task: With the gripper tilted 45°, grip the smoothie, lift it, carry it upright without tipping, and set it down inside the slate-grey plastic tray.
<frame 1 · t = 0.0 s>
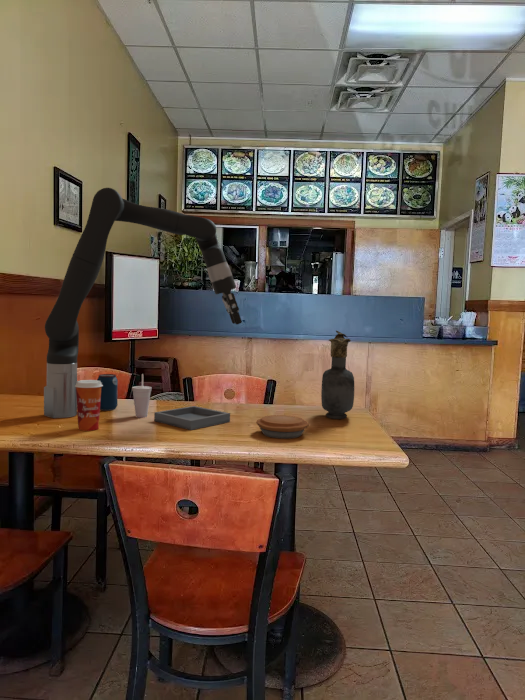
hand: (237, 323, 178), 31 cm above the table, tool tilted 20°, fingers open, 8 cm apart
soda can: (107, 409, 183), on the table
paper cup: (88, 429, 153), on the table
pie: (281, 435, 154), on the table
smoothie: (141, 416, 173), on the table
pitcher: (335, 416, 184), on the table
tray: (192, 421, 167), on the table
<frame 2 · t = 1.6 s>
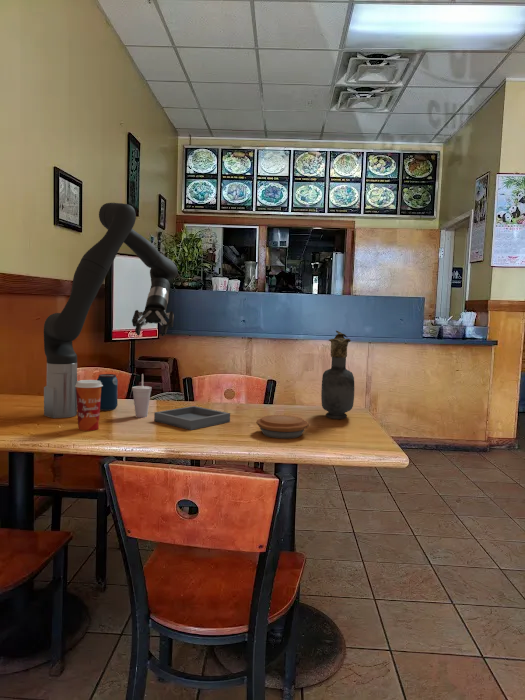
hand: (150, 334, 182), 27 cm above the table, tool tilted 45°, fingers open, 8 cm apart
nothing on the table moved.
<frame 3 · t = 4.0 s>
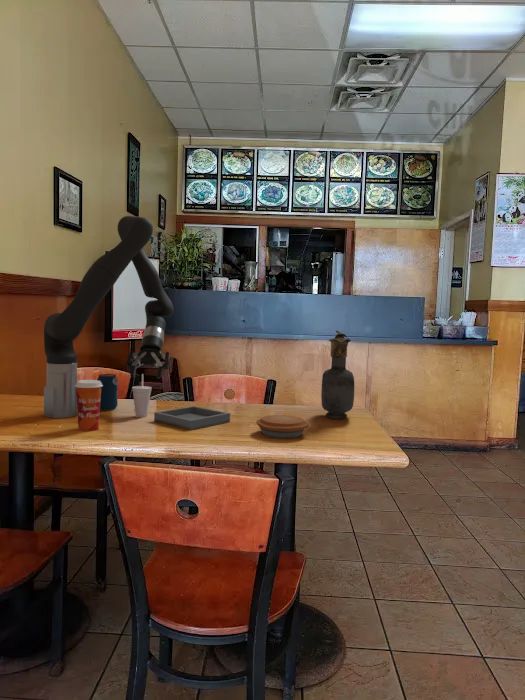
hand: (145, 377, 177), 12 cm above the table, tool tilted 45°, fingers open, 8 cm apart
nothing on the table moved.
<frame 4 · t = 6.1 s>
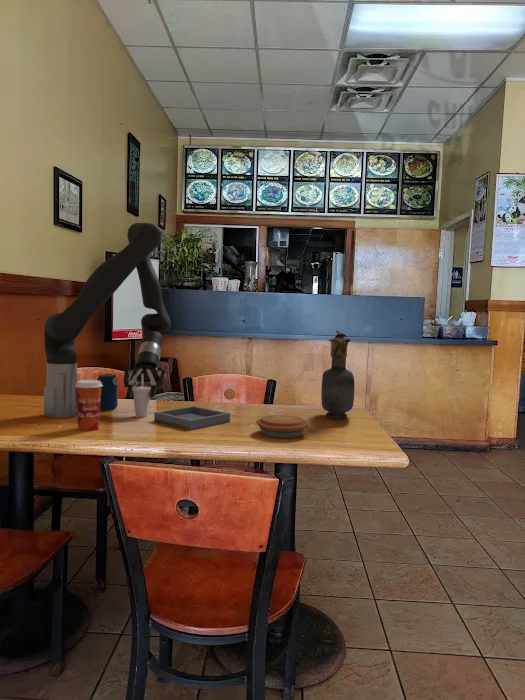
hand: (140, 396, 170), 7 cm above the table, tool tilted 45°, fingers closed on smoothie, 6 cm apart
smoothie: (141, 416, 173), on the table, touching gripper
everything else where it was.
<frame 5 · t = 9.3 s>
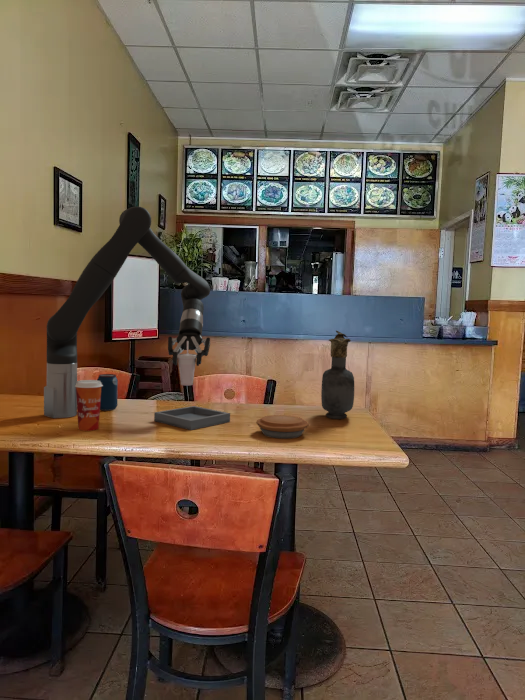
hand: (186, 363, 165), 18 cm above the table, tool tilted 45°, fingers closed on smoothie, 6 cm apart
smoothie: (186, 385, 168), point 11 cm above the table, touching gripper
everything else where it was.
when the fingers open (9 cm above the table, at t = 12.4 s): smoothie drops 1 cm, resting on tray.
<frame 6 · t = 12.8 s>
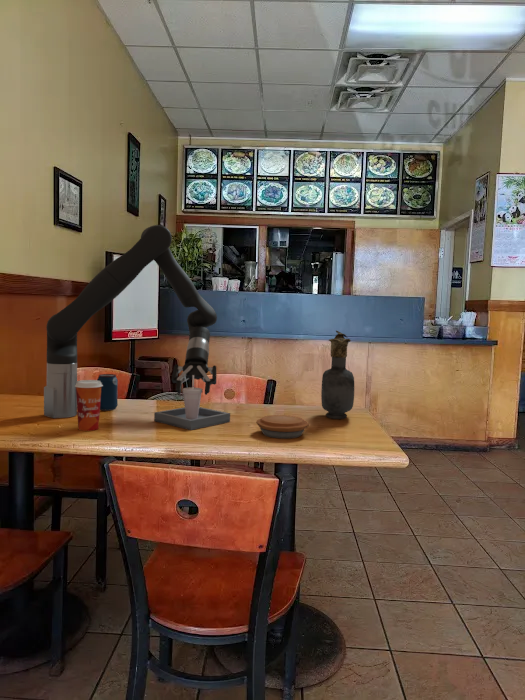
hand: (192, 392, 165), 9 cm above the table, tool tilted 45°, fingers open, 8 cm apart
smoothie: (191, 419, 167), point 1 cm above the table, touching tray
everything else where it was.
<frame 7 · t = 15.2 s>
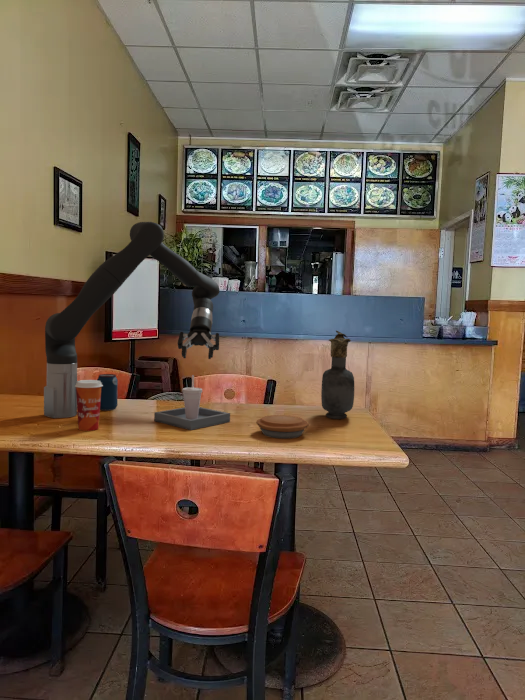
hand: (196, 357, 177), 20 cm above the table, tool tilted 45°, fingers open, 8 cm apart
nothing on the table moved.
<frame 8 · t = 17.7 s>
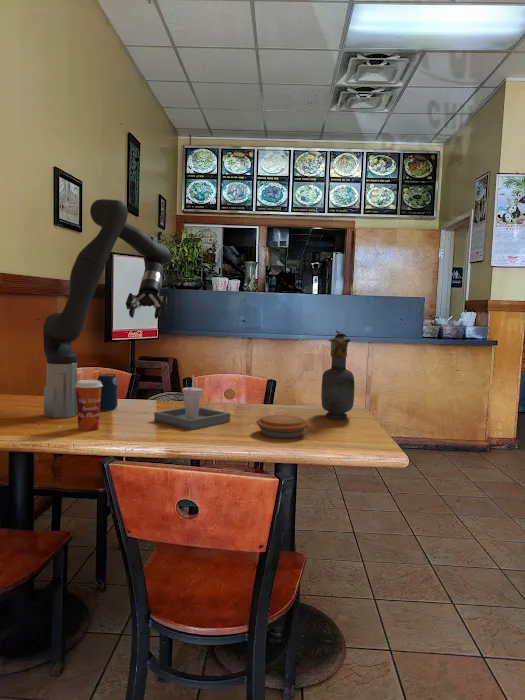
hand: (143, 316, 184), 33 cm above the table, tool tilted 45°, fingers open, 8 cm apart
nothing on the table moved.
at the end: smoothie inside the target area on the tray (0.3 cm from its centre), point 0.6 cm above the tray's base; smoothie tilted 0°; the gripper is holding nothing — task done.
